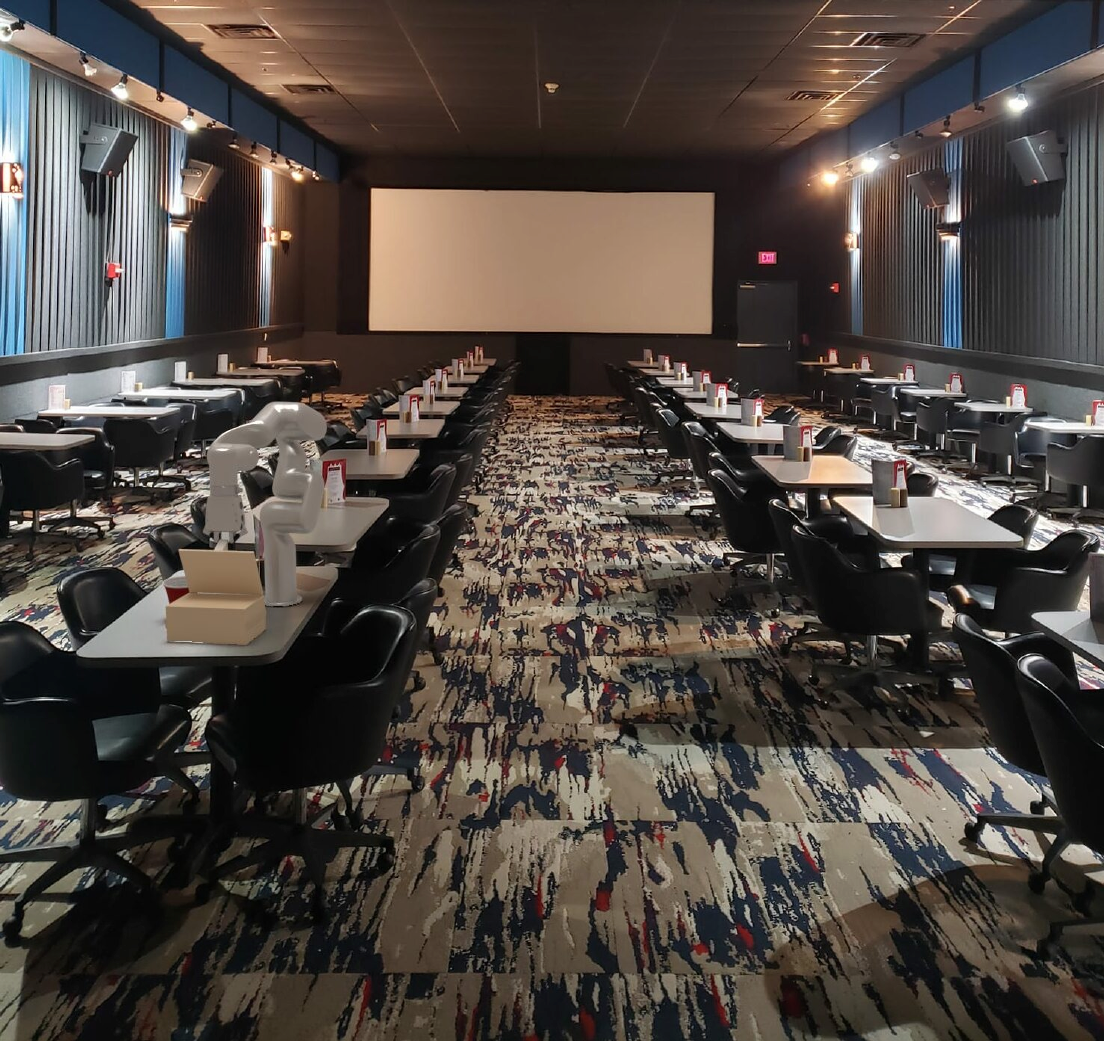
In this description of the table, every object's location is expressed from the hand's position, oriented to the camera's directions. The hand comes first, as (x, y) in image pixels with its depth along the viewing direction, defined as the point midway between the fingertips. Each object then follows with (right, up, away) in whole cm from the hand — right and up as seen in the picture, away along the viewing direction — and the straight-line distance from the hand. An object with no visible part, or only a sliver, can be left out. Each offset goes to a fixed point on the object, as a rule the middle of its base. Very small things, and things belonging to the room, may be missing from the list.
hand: (225, 555), depth 330 cm
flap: (0, -5, -3) cm, 6 cm away
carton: (-1, -22, -5) cm, 23 cm away
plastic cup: (-16, -19, +12) cm, 27 cm away
